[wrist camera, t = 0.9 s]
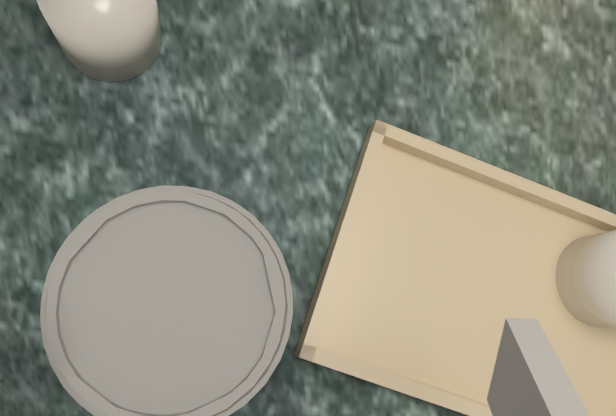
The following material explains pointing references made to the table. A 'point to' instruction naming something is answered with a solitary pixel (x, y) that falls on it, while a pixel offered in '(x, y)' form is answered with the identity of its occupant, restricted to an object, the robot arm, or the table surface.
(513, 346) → the robot arm
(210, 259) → the disposable coffee cup
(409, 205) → the serving tray
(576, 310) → the white rounded cylinder
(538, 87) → the table surface
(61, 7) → the rounded white cap
